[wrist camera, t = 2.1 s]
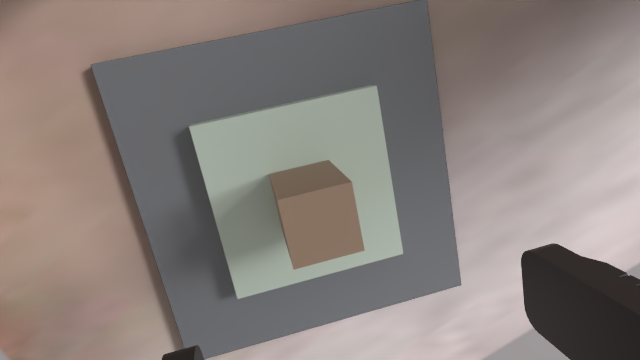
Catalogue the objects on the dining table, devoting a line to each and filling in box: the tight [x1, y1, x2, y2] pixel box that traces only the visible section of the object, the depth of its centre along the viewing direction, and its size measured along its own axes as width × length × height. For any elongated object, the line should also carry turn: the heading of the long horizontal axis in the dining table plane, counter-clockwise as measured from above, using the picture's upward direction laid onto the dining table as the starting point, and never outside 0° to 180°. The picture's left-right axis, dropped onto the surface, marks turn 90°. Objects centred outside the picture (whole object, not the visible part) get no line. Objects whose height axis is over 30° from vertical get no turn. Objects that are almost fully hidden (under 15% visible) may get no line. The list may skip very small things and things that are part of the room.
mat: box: [90, 0, 461, 359], centre depth 23 cm, size 16×16×1 cm
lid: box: [189, 85, 403, 299], centre depth 20 cm, size 9×9×6 cm
